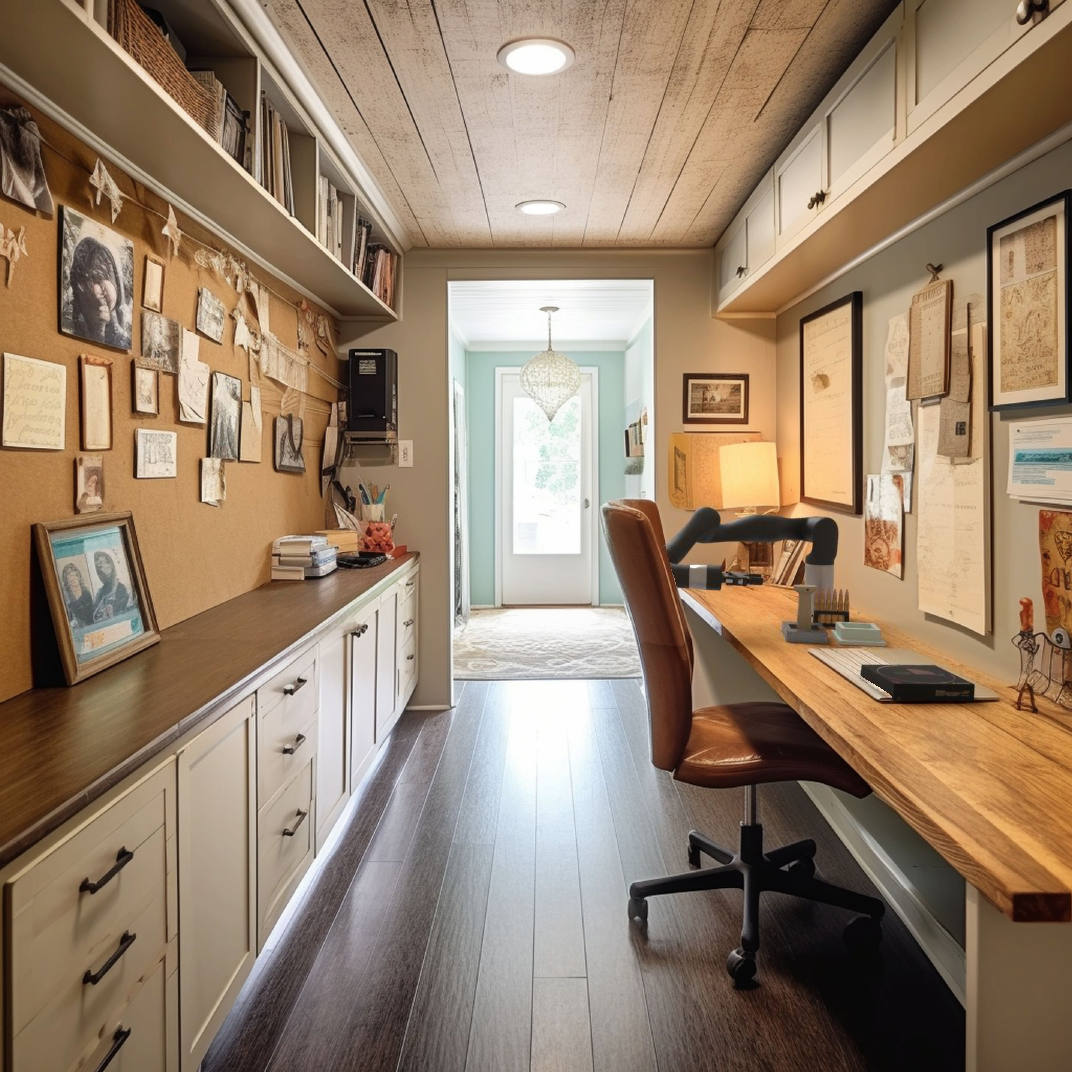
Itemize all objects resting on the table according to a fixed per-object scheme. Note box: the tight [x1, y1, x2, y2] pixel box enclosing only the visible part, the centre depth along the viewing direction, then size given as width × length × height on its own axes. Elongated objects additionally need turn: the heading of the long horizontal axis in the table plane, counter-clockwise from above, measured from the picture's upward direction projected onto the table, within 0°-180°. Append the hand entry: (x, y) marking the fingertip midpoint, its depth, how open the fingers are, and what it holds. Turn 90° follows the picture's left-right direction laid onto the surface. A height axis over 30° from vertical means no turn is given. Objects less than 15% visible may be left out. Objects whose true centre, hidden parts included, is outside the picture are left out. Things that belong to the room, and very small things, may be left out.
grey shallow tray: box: [830, 621, 887, 648], centre depth 217 cm, size 16×12×4 cm
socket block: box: [781, 620, 829, 645], centre depth 220 cm, size 16×11×3 cm
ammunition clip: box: [812, 588, 850, 628], centre depth 236 cm, size 11×2×12 cm, turn 76°
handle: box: [793, 584, 817, 630], centre depth 220 cm, size 5×6×15 cm
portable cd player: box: [859, 663, 976, 702], centre depth 165 cm, size 16×17×4 cm
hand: (762, 579), depth 222 cm, fingers open, 8 cm apart
